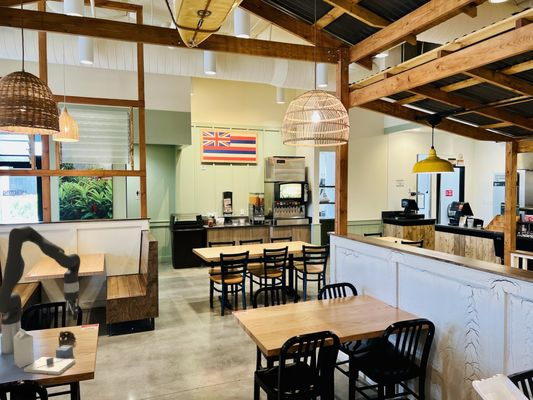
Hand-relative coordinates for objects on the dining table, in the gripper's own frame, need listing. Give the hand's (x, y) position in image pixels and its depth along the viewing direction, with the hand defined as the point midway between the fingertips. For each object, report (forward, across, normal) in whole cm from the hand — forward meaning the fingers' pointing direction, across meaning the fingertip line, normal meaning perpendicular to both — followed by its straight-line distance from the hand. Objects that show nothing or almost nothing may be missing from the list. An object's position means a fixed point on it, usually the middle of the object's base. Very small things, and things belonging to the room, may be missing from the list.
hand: (72, 317), depth 215 cm
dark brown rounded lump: (+22, -20, +2) cm, 30 cm away
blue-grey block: (+22, -2, -4) cm, 22 cm away
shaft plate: (+22, +5, -13) cm, 26 cm away
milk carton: (+22, -9, -22) cm, 33 cm away
